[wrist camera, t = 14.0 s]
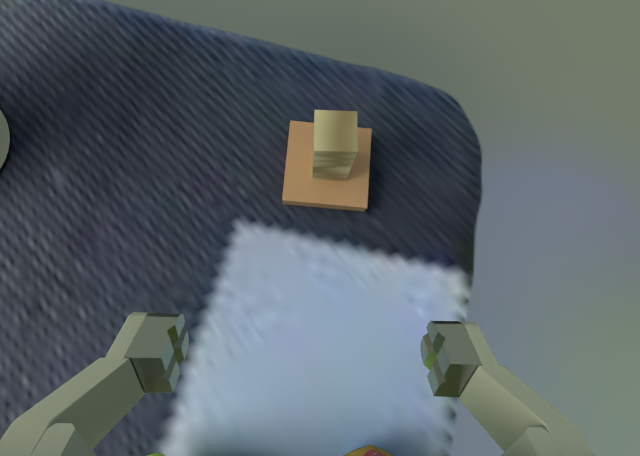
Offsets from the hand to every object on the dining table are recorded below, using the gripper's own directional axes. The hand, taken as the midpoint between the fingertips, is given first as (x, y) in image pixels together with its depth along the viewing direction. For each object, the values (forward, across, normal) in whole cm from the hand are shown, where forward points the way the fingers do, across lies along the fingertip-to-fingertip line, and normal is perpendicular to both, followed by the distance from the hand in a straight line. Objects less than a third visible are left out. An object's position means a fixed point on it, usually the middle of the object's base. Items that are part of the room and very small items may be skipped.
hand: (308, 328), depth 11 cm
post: (+30, -3, +8) cm, 31 cm away
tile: (+32, -3, +9) cm, 33 cm away
